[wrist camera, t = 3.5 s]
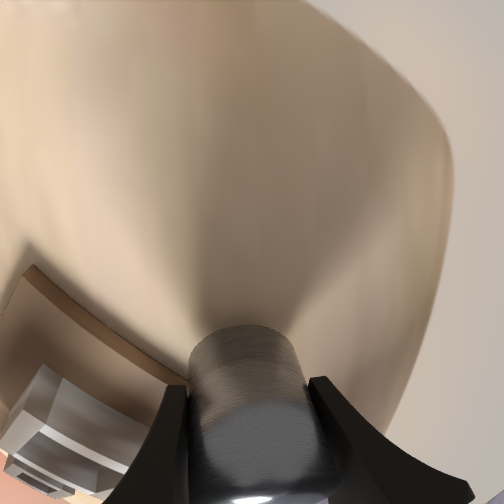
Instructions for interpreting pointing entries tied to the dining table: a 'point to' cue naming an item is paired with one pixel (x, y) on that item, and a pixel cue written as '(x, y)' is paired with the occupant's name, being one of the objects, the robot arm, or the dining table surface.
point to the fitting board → (71, 393)
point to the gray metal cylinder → (253, 423)
